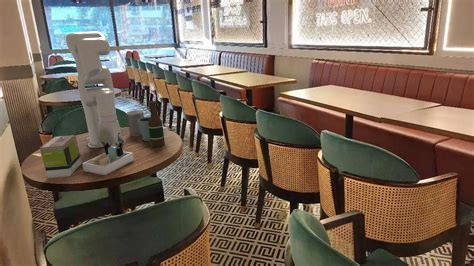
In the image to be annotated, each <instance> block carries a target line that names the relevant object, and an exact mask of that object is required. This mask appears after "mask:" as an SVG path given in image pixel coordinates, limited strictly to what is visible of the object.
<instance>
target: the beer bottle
mask: <svg viewBox="0 0 474 266" xmlns="http://www.w3.org/2000/svg"><path fill="white" fill-rule="evenodd" d="M148 105H149V110H150V111H149V112H150V116H149V117H150V119H149V122H148V127H149V135H150V141H149V142H150V146H151V147H153V148H159V147H160V148H161V147H163V146H165V134H164V125H163V121H162V120H163V119H162V118H161V117H160V116H159V114H158V107H157V102H156V101H155V100H151V101H149V102H148Z"/></svg>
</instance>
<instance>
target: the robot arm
mask: <svg viewBox="0 0 474 266" xmlns="http://www.w3.org/2000/svg"><path fill="white" fill-rule="evenodd" d="M65 42H66V43H65V44H66V46H67V48H68V50H69V52H70V54H71V55H72V58H73V59H74V61H75V67H76V71H77V75H78V81H77V91H78V93H79V99H80V102H81V104H82V107H83V112H84V115H85V116H84V117H85V121H86V125H87V126H86V127H87V131H88V137H86V141H89V142H88V144H87V146H88V148H91V149H97V148H99V149H100V148H103V149H104V153H105V154H106V155H108V154H109V153H108V147H110V146H111V144H115V145H114V146H116V147H117V149H116V150H117V156H118V157H119V156H121V155H123V152H124V150H123V147H124V146H125V144H126V142H127V140H126V138H124V136H123V133H122V129H121V125H120V122H119V120H118V117H117V116H118V115H117V111H116V104H115V101H116V94H115V93H116V92H115V89H114V83H113V78H112V74H111V71H110V69H109V68H108V66H105V65H103V64H102V61H101V59H100V56H101V57H102V56H108V55H110V52H111V46H110V44H109V43H110V42H109V41H108V39H107V38H106V37H105V35H104V34H103V33H102V32H100V31H82V32H72V33H71V32H70V33H68V34H67V35H66V36H65ZM97 85H102V86H98V87H89V88H88V87H87V88H86V86H97Z"/></svg>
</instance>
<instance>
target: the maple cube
mask: <svg viewBox="0 0 474 266" xmlns="http://www.w3.org/2000/svg"><path fill="white" fill-rule="evenodd" d="M97 156H98V157H97ZM97 156H95V157H96V158H95V157H93V158H94V159H92V158H91V159H92V163H93V164H95V165H101V166H106V165H108V164H110V162H109V157H107V156H99V155H97Z"/></svg>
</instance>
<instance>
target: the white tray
mask: <svg viewBox="0 0 474 266" xmlns="http://www.w3.org/2000/svg"><path fill="white" fill-rule="evenodd" d="M133 153H134V152H130V151H123V155H121V156H120V157H121V158H120V159H118V160H116V161H114V162H112V163H110V164H108V165H106V166H101V165H95V164H93V163H92V159H94V158H96V157H98V156H107V157H109V154H108V155H106V154H105V152H103V153H102V154H100V155H97V156H95V157H92V158H91V159H89V160H86V161H84V162H82V164H81V165H82V169H83V172H86V173H92V174H97V175H103V176H108V175H110V174H112V173H114V172H115V171H118V170H119V169H121V168H123V167H126V166H127V165H129V164H130V163H132V162H134V161H135V158H134V154H133ZM109 162H110V159H109Z"/></svg>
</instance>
